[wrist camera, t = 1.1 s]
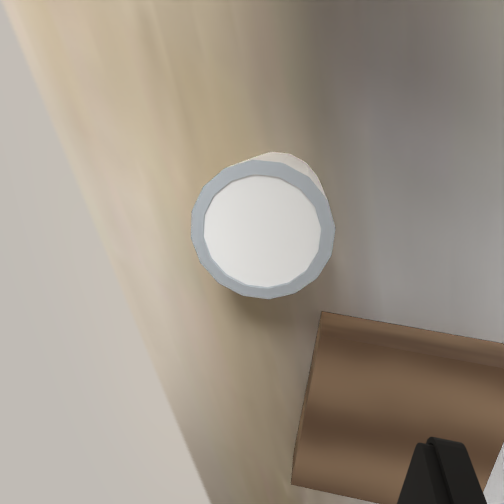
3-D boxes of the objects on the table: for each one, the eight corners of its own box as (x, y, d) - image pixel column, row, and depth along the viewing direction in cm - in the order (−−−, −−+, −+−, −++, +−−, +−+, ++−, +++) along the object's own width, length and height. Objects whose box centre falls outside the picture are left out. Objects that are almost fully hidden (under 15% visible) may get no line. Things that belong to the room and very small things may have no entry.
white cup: (283, 272, 29) (271, 326, 23) (199, 204, 29) (162, 240, 22) (357, 191, 27) (367, 226, 20) (267, 115, 26) (248, 126, 20)
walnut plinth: (321, 311, 30) (321, 334, 27) (512, 345, 29) (531, 373, 26) (293, 451, 34) (290, 484, 31) (458, 486, 33) (470, 523, 30)
